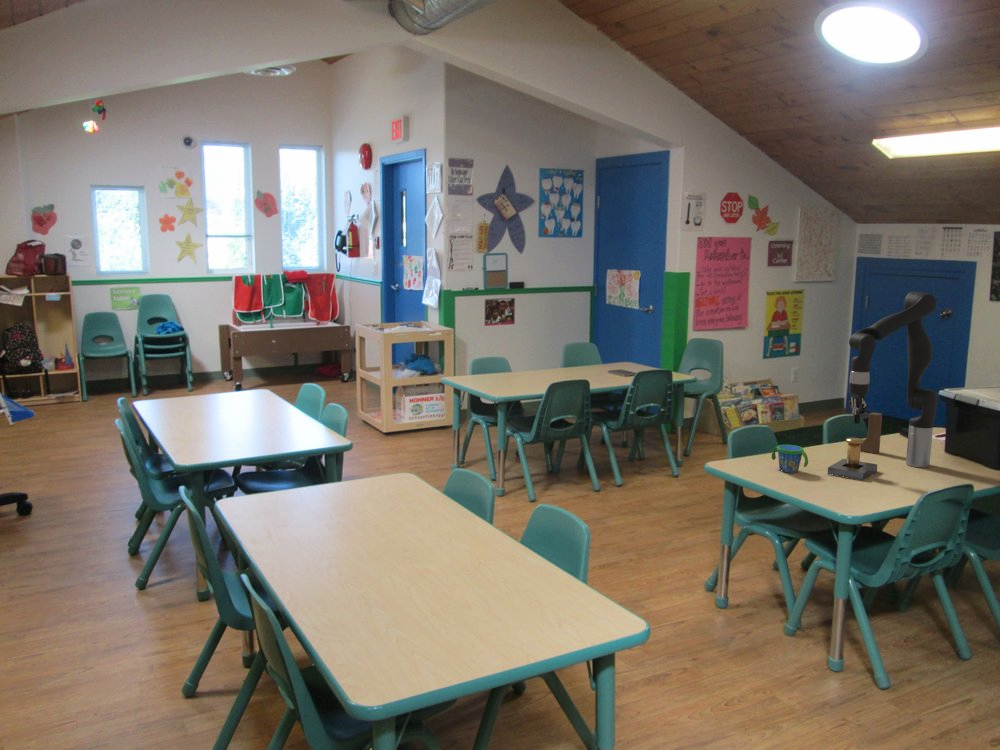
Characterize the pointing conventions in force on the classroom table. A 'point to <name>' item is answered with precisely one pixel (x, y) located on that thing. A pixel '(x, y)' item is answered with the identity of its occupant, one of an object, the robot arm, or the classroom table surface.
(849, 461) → the brass flanged peg
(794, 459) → the snack cup
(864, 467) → the plate
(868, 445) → the wooden block
